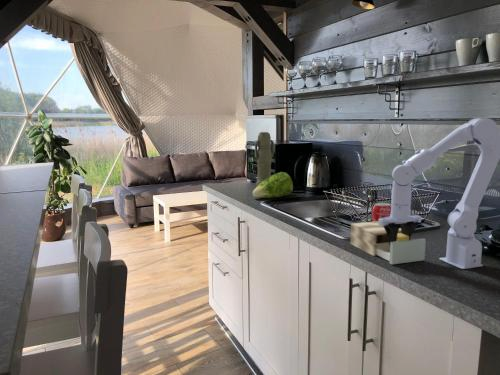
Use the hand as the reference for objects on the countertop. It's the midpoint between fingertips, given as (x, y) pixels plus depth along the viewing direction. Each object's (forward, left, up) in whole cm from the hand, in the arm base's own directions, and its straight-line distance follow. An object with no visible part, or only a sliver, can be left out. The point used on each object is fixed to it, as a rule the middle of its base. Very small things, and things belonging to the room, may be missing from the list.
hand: (398, 245), depth 137 cm
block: (0, 0, -2) cm, 2 cm away
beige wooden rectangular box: (+11, 0, -4) cm, 12 cm away
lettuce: (+108, +1, -4) cm, 108 cm away
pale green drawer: (+2, 0, -4) cm, 4 cm away
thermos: (+127, -2, -4) cm, 128 cm away
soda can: (+24, -11, -4) cm, 27 cm away
